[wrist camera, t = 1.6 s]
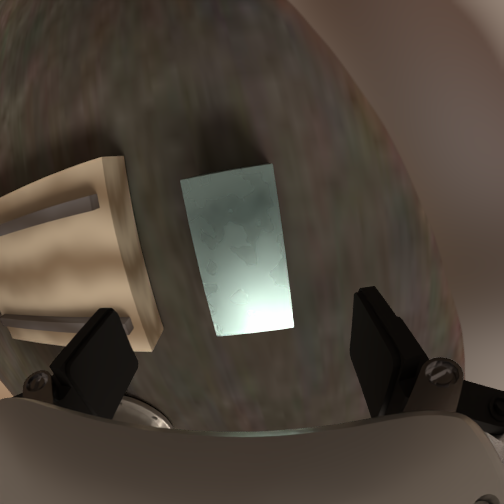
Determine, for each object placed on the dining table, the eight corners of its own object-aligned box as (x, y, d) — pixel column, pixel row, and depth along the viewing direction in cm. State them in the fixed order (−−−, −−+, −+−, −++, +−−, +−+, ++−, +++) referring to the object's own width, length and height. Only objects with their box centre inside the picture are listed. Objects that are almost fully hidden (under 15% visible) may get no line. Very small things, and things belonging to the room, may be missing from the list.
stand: (163, 328, 28) (148, 359, 23) (27, 324, 29) (8, 342, 24) (123, 155, 22) (93, 157, 17) (-9, 206, 24) (-35, 215, 19)
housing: (287, 291, 26) (293, 327, 20) (225, 300, 27) (217, 336, 21) (269, 163, 22) (272, 163, 17) (199, 174, 23) (180, 180, 17)
